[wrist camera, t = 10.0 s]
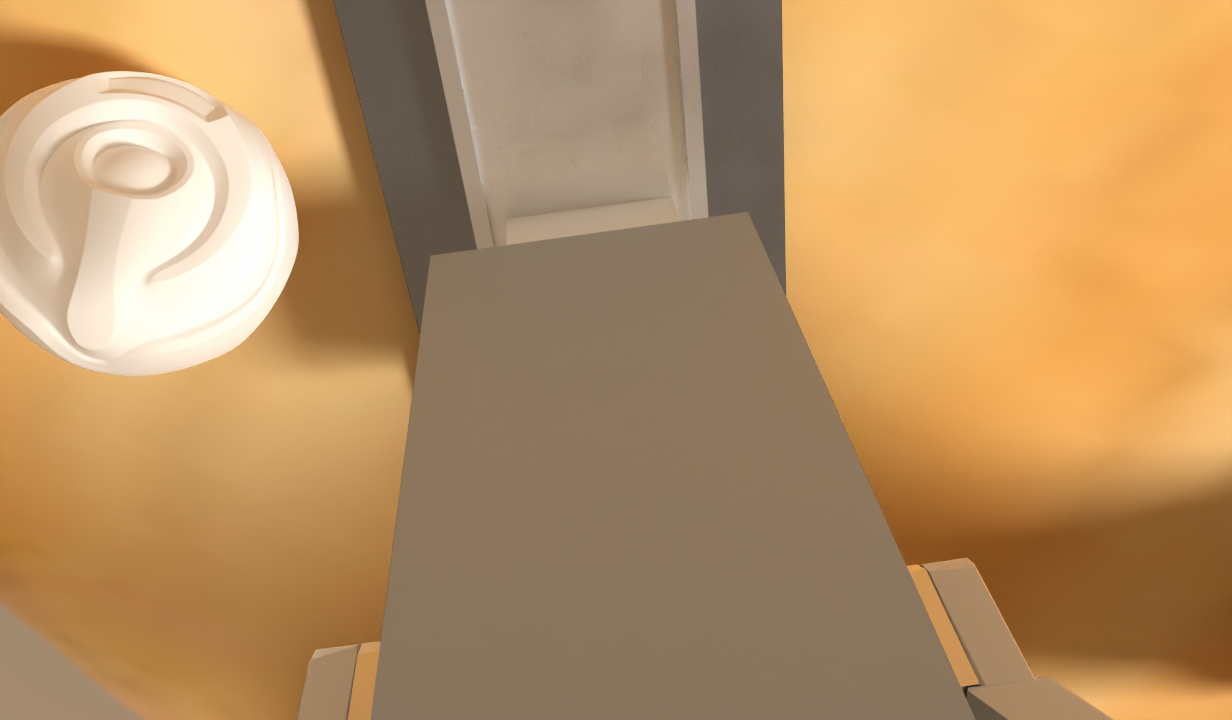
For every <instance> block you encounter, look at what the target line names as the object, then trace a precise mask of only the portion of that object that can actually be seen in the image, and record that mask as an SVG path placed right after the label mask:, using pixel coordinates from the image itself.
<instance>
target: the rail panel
mask: <svg viewBox="0 0 1232 720" xmlns="http://www.w3.org/2000/svg"><path fill="white" fill-rule="evenodd" d="M334 4H335V8H336V12H337V16H338V20H339V23H340V27H341V31H342V35H343V39H344V43H345V47H346V50H347V54H348V58H349V62H350V66H351V70H352V74H353V78H354V81H355V85H356V89H357V93H358V97H359V101H360V105H361V108H362V112H363V116H364V120H365V124H366V128H367V132H368V135H369V139H370V143H371V147H372V151H373V155H374V159H375V162H376V166H377V170H378V174H379V178H380V182H381V186H382V190H383V193H384V197H385V201H386V205H387V209H388V213H389V217H390V220H391V224H392V228H393V232H394V236H395V240H396V244H397V247H398V251H399V255H400V259H401V263H402V267H403V271H404V274H405V278H406V282H407V286H408V290H409V294H410V298H411V302H412V305H413V309H414V313H415V317H416V321H417V325H418V329H419V332H420V333H421V325H422V317H423V309H424V302H425V294H426V286H427V278H428V271H429V263H430V256H431V255H439V254H446V253H453V252H460V251H468V250H475V249H482V248H489V247H497V246H504V245H506V226H507V219H510V218H517V217H525V216H532V215H540V214H547V213H555V212H562V211H570V210H577V209H584V208H592V207H599V206H607V205H614V204H622V203H629V202H637V201H644V200H652V199H659V198H666V197H672V198H673V201H674V205H675V208H676V211H677V215H678V218H679V221H685V220H692V219H700V218H707V217H714V216H721V215H729V214H736V213H743V212H748V213H749V215H750V218H751V220H752V222H753V224H754V226H755V229H756V231H757V233H758V235H759V238H760V240H761V242H762V244H763V247H764V249H765V251H766V253H767V255H768V258H769V260H770V262H771V264H772V267H773V269H774V271H775V273H776V276H777V278H778V280H779V282H780V284H781V287H782V289H783V291H784V293H785V296H786V268H785V199H784V130H783V61H782V0H334Z"/></svg>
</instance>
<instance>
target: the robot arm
mask: <svg viewBox="0 0 1232 720" xmlns="http://www.w3.org/2000/svg"><path fill="white" fill-rule="evenodd" d="M907 568H908V570H909V572H910V574H911V577H912V579H913V581H914V583H915V586H916V588H917V590H918V592H919V595H920V597H921V599H922V601H923V603H924V606H925V608H926V610H927V612H928V615H929V617H930V619H931V621H932V624H933V626H934V628H935V630H936V632H937V635H938V637H939V639H940V641H941V644H942V646H943V648H944V650H945V653H946V655H947V657H948V659H949V661H950V664H951V666H952V668H953V670H954V673H955V675H956V677H957V679H958V682H959V684H960V686H961V688H962V690H963V693H964V695H965V697H966V699H967V702H968V704H969V706H970V708H971V711H972V713H973V715H974V717H975V719H976V720H1114V719H1112V718H1111V717H1109V716H1108V715H1106V714H1105V713H1103V712H1102V711H1100V710H1099V709H1097V708H1096V707H1094V706H1093V705H1091V704H1090V703H1088V702H1087V701H1085V700H1084V699H1082V698H1081V697H1079V696H1078V695H1076V694H1075V693H1073V692H1072V691H1070V690H1069V689H1067V688H1066V687H1064V686H1063V685H1061V684H1060V683H1058V682H1057V681H1055V680H1054V679H1052V678H1051V677H1042V678H1035V677H1034V675H1033V673H1032V671H1031V669H1030V667H1029V665H1028V664H1027V662H1026V660H1025V658H1024V656H1023V654H1022V652H1021V650H1020V649H1019V647H1018V645H1017V643H1016V641H1015V639H1014V637H1013V635H1012V634H1011V632H1010V630H1009V628H1008V626H1007V624H1006V622H1005V620H1004V619H1003V617H1002V615H1001V613H1000V611H999V609H998V607H997V605H996V603H995V602H994V600H993V598H992V596H991V594H990V592H989V590H988V588H987V587H986V585H985V583H984V581H983V579H982V577H981V575H980V573H979V572H978V570H977V568H976V566H975V564H974V563H973V562H971V561H970V560H969V559H968V558H960V559H954V560H947V561H940V562H933V563H926V564H921V565H920V566H919V565H917V564H915V565H909V566H907ZM380 642H381V641H376V642H367V643H362V644H355V645H347V646H339V647H331V648H322V649H316V650H315V652H314V654H313V656H312V657H311V659H310V661H309V663H308V667H307V672H306V677H305V682H304V687H303V692H302V697H301V701H300V706H299V711H298V716H297V720H371V712H372V704H373V696H374V689H375V681H376V673H377V665H378V658H379V650H380Z"/></svg>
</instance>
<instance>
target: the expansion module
mask: <svg viewBox="0 0 1232 720" xmlns="http://www.w3.org/2000/svg"><path fill="white" fill-rule="evenodd" d="M371 720H976V719H975V717H974V715H973V713H972V711H971V708H970V706H969V704H968V702H967V699H966V697H965V695H964V693H963V690H962V688H961V686H960V684H959V682H958V679H957V677H956V675H955V673H954V670H953V668H952V666H951V664H950V661H949V659H948V657H947V655H946V653H945V650H944V648H943V646H942V644H941V641H940V639H939V637H938V635H937V632H936V630H935V628H934V626H933V624H932V621H931V619H930V617H929V615H928V612H927V610H926V608H925V606H924V603H923V601H922V599H921V597H920V595H919V592H918V590H917V588H916V586H915V583H914V581H913V579H912V577H911V574H910V572H909V570H908V568H907V566H906V563H905V561H904V559H903V557H902V554H901V552H900V550H899V548H898V545H897V543H896V541H895V539H894V537H893V534H892V532H891V530H890V528H889V525H888V523H887V521H886V519H885V516H884V514H883V512H882V510H881V508H880V505H879V503H878V501H877V499H876V496H875V494H874V492H873V490H872V487H871V485H870V483H869V481H868V479H867V476H866V474H865V472H864V470H863V467H862V465H861V463H860V461H859V458H858V456H857V454H856V452H855V450H854V447H853V445H852V443H851V441H850V438H849V436H848V434H847V432H846V429H845V427H844V425H843V423H842V421H841V418H840V416H839V414H838V412H837V409H836V407H835V405H834V403H833V400H832V398H831V396H830V394H829V392H828V389H827V387H826V385H825V383H824V380H823V378H822V376H821V374H820V371H819V369H818V367H817V365H816V363H815V360H814V358H813V356H812V354H811V351H810V349H809V347H808V345H807V342H806V340H805V338H804V336H803V334H802V331H801V329H800V327H799V325H798V322H797V320H796V318H795V316H794V313H793V311H792V309H791V307H790V305H789V302H788V300H787V298H786V296H785V293H784V291H783V289H782V287H781V284H780V282H779V280H778V278H777V276H776V273H775V271H774V269H773V267H772V264H771V262H770V260H769V258H768V255H767V253H766V251H765V249H764V247H763V244H762V242H761V240H760V238H759V235H758V233H757V231H756V229H755V226H754V224H753V222H752V220H751V218H750V215H749V213H748V212H743V213H736V214H729V215H721V216H714V217H707V218H700V219H692V220H685V221H678V222H671V223H663V224H656V225H649V226H642V227H634V228H627V229H620V230H613V231H605V232H598V233H591V234H584V235H576V236H569V237H562V238H555V239H547V240H540V241H533V242H526V243H518V244H511V245H504V246H497V247H489V248H482V249H475V250H468V251H460V252H453V253H446V254H439V255H431V256H430V263H429V271H428V278H427V286H426V294H425V302H424V309H423V317H422V325H421V333H420V340H419V348H418V356H417V364H416V371H415V379H414V387H413V395H412V402H411V410H410V418H409V426H408V433H407V441H406V449H405V456H404V464H403V472H402V480H401V487H400V495H399V503H398V511H397V518H396V526H395V534H394V542H393V549H392V557H391V565H390V573H389V580H388V588H387V596H386V604H385V611H384V619H383V627H382V634H381V642H380V650H379V658H378V665H377V673H376V681H375V689H374V696H373V704H372V712H371Z"/></svg>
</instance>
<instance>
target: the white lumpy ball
mask: <svg viewBox="0 0 1232 720" xmlns="http://www.w3.org/2000/svg"><path fill="white" fill-rule="evenodd" d="M298 245H299V230H298V219H297V212H296V206H295V201H294V196H293V193H292V189H291V186H290V183H289V181H288V178H287V176H286V174H285V171H284V169H283V167H282V165H281V163H280V161H279V159H278V157H277V155H276V153H275V152H274V150H273V148H272V146H271V145H270V143H269V141H268V140H267V138H266V137H265V135H264V134H263V133H262V131H261V130H260V129H259V128H258V127H257V126H256V125H255V124H254V123H253V122H252V121H251V120H250V119H249V118H248V117H246V116H245V115H243V114H242V113H241V112H239V111H238V110H236V109H234V108H233V107H231V106H229V105H228V104H226V103H224V102H222V101H220V100H218V99H217V98H215V97H214V96H212V95H210V94H209V93H207V92H205V91H203V90H202V89H200V88H198V87H195V86H193V85H191V84H189V83H186V82H184V81H181V80H178V79H175V78H171V77H167V76H163V75H159V74H153V73H146V72H134V71H111V72H101V73H95V74H90V75H87V76H84V77H81V78H76V79H70V80H66V81H62V82H59V83H55V84H52V85H49V86H47V87H44V88H41V89H39V90H37V91H34V92H32V93H30V94H28V95H27V96H25V97H23V98H22V99H20V100H19V101H17V102H16V103H15V104H13V105H12V106H11V107H10V108H9V109H8V110H7V111H6V112H4V113H3V114H2V115H1V117H0V312H1V313H2V314H3V315H4V316H5V317H6V318H7V319H8V320H9V322H10V323H11V324H12V325H13V326H15V327H16V328H17V329H18V330H19V331H20V332H21V333H22V334H23V335H25V336H26V337H27V338H28V339H30V340H31V341H33V342H34V343H35V344H37V345H38V346H40V347H42V348H43V349H45V350H46V351H48V352H50V353H51V354H53V355H55V356H57V357H59V358H60V359H62V360H64V361H67V362H69V363H71V364H73V365H76V366H79V367H82V368H85V369H88V370H92V371H96V372H101V373H106V374H112V375H121V376H148V375H156V374H163V373H168V372H173V371H177V370H181V369H185V368H189V367H192V366H195V365H198V364H201V363H203V362H206V361H209V360H211V359H214V358H216V357H219V356H221V355H223V354H225V353H227V352H229V351H231V350H232V349H234V348H235V347H237V346H238V345H239V344H240V343H242V342H243V341H244V340H245V339H246V338H247V337H248V336H249V335H250V334H251V333H252V332H253V331H254V330H255V329H256V328H257V327H258V326H259V325H260V323H261V322H262V321H263V320H264V318H265V317H266V316H267V314H268V313H269V311H270V310H271V309H272V307H273V305H274V304H275V302H276V301H277V299H278V297H279V296H280V294H281V292H282V290H283V288H284V286H285V284H286V282H287V280H288V278H289V275H290V273H291V271H292V268H293V265H294V262H295V259H296V255H297V251H298Z"/></svg>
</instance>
